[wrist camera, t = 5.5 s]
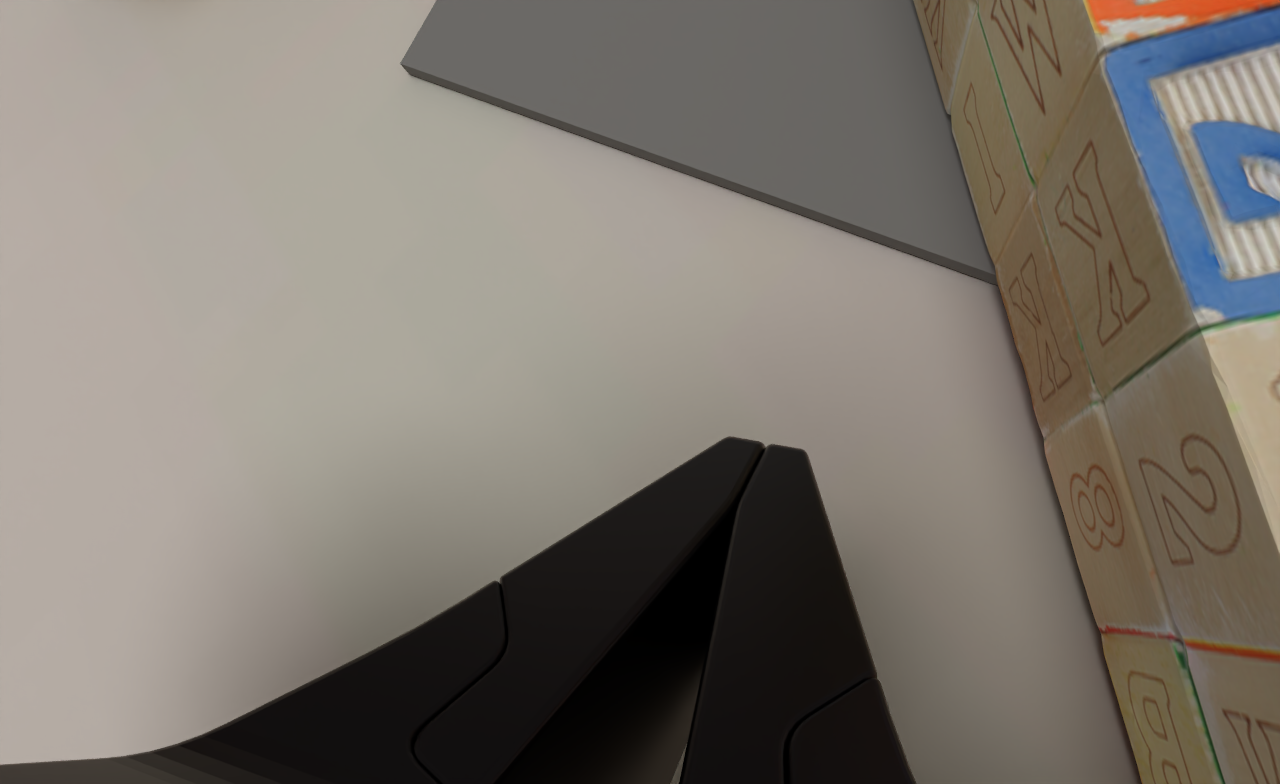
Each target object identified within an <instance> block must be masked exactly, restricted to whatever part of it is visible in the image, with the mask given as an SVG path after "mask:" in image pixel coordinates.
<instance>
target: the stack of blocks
mask: <svg viewBox="0 0 1280 784" xmlns="http://www.w3.org/2000/svg"><path fill="white" fill-rule="evenodd" d="M913 1H914V4H915V8H916V11H917V15H918V18H919V21H920V25H921V28H922V31H923V35H924V38H925V42H926V45H927V48H928V52H929V55H930V59H931V62H932V65H933V69H934V72H935V76H936V79H937V82H938V86H939V89H940V93H941V96H942V99H943V103H944V106H945V110H946V112H947V113H948V114H949V115H951V122H952V133H953V136H954V139H955V142H956V145H957V148H958V151H959V155H960V158H961V162H962V166H963V169H964V173H965V177H966V180H967V183H968V187H969V190H970V193H971V197H972V200H973V203H974V207H975V210H976V213H977V217H978V220H979V223H980V226H981V229H982V232H983V236H984V239H985V242H986V245H987V248H988V251H989V254H990V256H991V259H992V261H993V263H994V265H995V271H996V278H997V283H998V286H999V289H1000V292H1001V295H1002V299H1003V302H1004V306H1005V309H1006V311H1007V315H1008V319H1009V322H1010V326H1011V330H1012V334H1013V337H1014V341H1015V345H1016V348H1017V350H1018V353H1019V356H1020V358H1021V361H1022V364H1023V367H1024V370H1025V374H1026V378H1027V382H1028V385H1029V389H1030V393H1031V398H1032V403H1033V408H1034V412H1035V415H1036V418H1037V421H1038V424H1039V427H1040V429H1041V432H1042V435H1043V438H1044V448H1045V455H1046V458H1047V462H1048V465H1049V469H1050V472H1051V475H1052V479H1053V482H1054V486H1055V489H1056V492H1057V495H1058V498H1059V501H1060V505H1061V508H1062V511H1063V514H1064V518H1065V521H1066V525H1067V528H1068V532H1069V535H1070V539H1071V542H1072V546H1073V549H1074V553H1075V556H1076V560H1077V563H1078V567H1079V570H1080V573H1081V576H1082V579H1083V582H1084V586H1085V589H1086V592H1087V595H1088V599H1089V602H1090V605H1091V608H1092V611H1093V615H1094V618H1095V621H1096V623H1097V625H1098V628H1099V630H1100V632H1101V636H1102V644H1103V651H1104V656H1105V659H1106V662H1107V666H1108V669H1109V672H1110V676H1111V679H1112V682H1113V686H1114V689H1115V692H1116V696H1117V699H1118V702H1119V706H1120V709H1121V712H1122V716H1123V719H1124V722H1125V726H1126V729H1127V732H1128V736H1129V739H1130V742H1131V746H1132V749H1133V752H1134V756H1135V759H1136V763H1137V766H1138V770H1139V774H1140V777H1141V781H1142V784H1280V0H913Z"/></svg>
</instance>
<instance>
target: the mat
mask: <svg viewBox="0 0 1280 784" xmlns="http://www.w3.org/2000/svg"><path fill="white" fill-rule="evenodd" d="M400 64H401V65H402V66H403V68H404V69H405V70H406V71H407V72H408V73H409V74H410V75H413V76H416V77H418V78H421V79H424V80H427V81H430V82H432V83H435V84H438V85H441V86H444V87H446V88H449V89H452V90H455V91H457V92H460V93H463V94H466V95H469V96H471V97H474V98H477V99H480V100H483V101H485V102H488V103H491V104H494V105H496V106H499V107H502V108H505V109H508V110H510V111H513V112H516V113H519V114H521V115H524V116H527V117H530V118H533V119H535V120H538V121H541V122H544V123H547V124H549V125H552V126H555V127H558V128H560V129H563V130H566V131H569V132H572V133H574V134H577V135H580V136H583V137H586V138H588V139H591V140H594V141H597V142H599V143H602V144H605V145H608V146H611V147H613V148H616V149H619V150H622V151H625V152H627V153H630V154H633V155H636V156H638V157H641V158H644V159H647V160H650V161H652V162H655V163H658V164H661V165H664V166H666V167H669V168H672V169H675V170H677V171H680V172H683V173H686V174H689V175H691V176H694V177H697V178H700V179H703V180H705V181H708V182H711V183H714V184H716V185H719V186H722V187H725V188H728V189H730V190H733V191H736V192H739V193H742V194H744V195H747V196H750V197H753V198H755V199H758V200H761V201H764V202H767V203H769V204H772V205H775V206H778V207H780V208H783V209H786V210H789V211H792V212H794V213H797V214H800V215H803V216H806V217H808V218H811V219H814V220H817V221H819V222H822V223H825V224H828V225H831V226H833V227H836V228H839V229H842V230H845V231H847V232H850V233H853V234H856V235H858V236H861V237H864V238H867V239H870V240H872V241H875V242H878V243H881V244H884V245H886V246H889V247H892V248H895V249H897V250H900V251H903V252H906V253H909V254H911V255H914V256H917V257H920V258H923V259H925V260H928V261H931V262H934V263H936V264H939V265H942V266H945V267H948V268H950V269H953V270H956V271H959V272H962V273H964V274H967V275H970V276H973V277H975V278H978V279H981V280H984V281H987V282H989V283H992V284H995V285H998V283H997V278H996V271H995V265H994V263H993V261H992V259H991V256H990V254H989V251H988V248H987V245H986V242H985V239H984V236H983V232H982V229H981V226H980V223H979V220H978V217H977V213H976V210H975V207H974V203H973V200H972V197H971V193H970V190H969V187H968V183H967V180H966V177H965V173H964V169H963V166H962V162H961V158H960V155H959V151H958V148H957V145H956V142H955V139H954V136H953V133H952V122H951V115H949V114H948V113H947V112H946V110H945V106H944V103H943V99H942V96H941V93H940V89H939V86H938V82H937V79H936V76H935V72H934V69H933V65H932V62H931V59H930V55H929V52H928V48H927V45H926V42H925V38H924V35H923V31H922V28H921V25H920V21H919V18H918V15H917V11H916V8H915V4H914V1H913V0H437V1H436V2H435V4H434V6H433V8H432V9H431V11H430V13H429V15H428V16H427V18H426V20H425V21H424V23H423V25H422V27H421V28H420V30H419V32H418V34H417V35H416V37H415V39H414V41H413V42H412V44H411V46H410V47H409V49H408V51H407V53H406V54H405V56H404V58H403V60H402V61H401V63H400Z"/></svg>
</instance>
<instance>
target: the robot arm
mask: <svg viewBox="0 0 1280 784" xmlns="http://www.w3.org/2000/svg"><path fill="white" fill-rule="evenodd" d="M687 741H688V742H687ZM686 744H687V747H686V752H685V757H684V762H683V767H682V772H681V777H680V782H679V784H916V781H915V779H914V777H913V775H912V772H911V770H910V767H909V765H908V762H907V759H906V756H905V753H904V751H903V748H902V745H901V742H900V740H899V737H898V734H897V731H896V729H895V726H894V723H893V720H892V717H891V714H890V711H889V708H888V705H887V702H886V699H885V696H884V692H883V689H882V686H881V683H880V681H879V680H878V679H877V672H876V669H875V666H874V662H873V659H872V656H871V653H870V650H869V647H868V643H867V640H866V637H865V634H864V631H863V628H862V624H861V621H860V618H859V615H858V612H857V609H856V605H855V602H854V599H853V596H852V593H851V590H850V587H849V583H848V580H847V577H846V574H845V571H844V568H843V564H842V561H841V558H840V555H839V552H838V549H837V545H836V542H835V539H834V536H833V533H832V530H831V526H830V523H829V520H828V517H827V514H826V511H825V508H824V504H823V501H822V498H821V495H820V492H819V489H818V485H817V482H816V479H815V476H814V473H813V470H812V466H811V463H810V460H809V457H808V455H807V453H806V451H804V450H802V449H798V448H792V447H787V446H781V445H775V444H771V445H768V446H767V447H766V448H765V446H764V444H763V443H762V442H759V441H753V440H748V439H742V438H737V437H726V438H724V439H722V440H721V441H719V442H717V443H716V444H714V445H713V446H711V447H709V448H708V449H706V450H704V451H703V452H701V453H700V454H698V455H696V456H695V457H693V458H692V459H690V460H688V461H687V462H685V463H683V464H682V465H680V466H679V467H677V468H675V469H674V470H672V471H671V472H669V473H667V474H666V475H664V476H663V477H661V478H659V479H658V480H656V481H654V482H653V483H651V484H650V485H648V486H646V487H645V488H643V489H642V490H640V491H638V492H637V493H635V494H634V495H632V496H630V497H629V498H627V499H625V500H624V501H622V502H621V503H619V504H617V505H616V506H614V507H613V508H611V509H609V510H608V511H606V512H604V513H603V514H601V515H600V516H598V517H596V518H595V519H593V520H592V521H590V522H588V523H587V524H585V525H584V526H582V527H580V528H579V529H577V530H575V531H574V532H572V533H571V534H569V535H567V536H566V537H564V538H563V539H561V540H559V541H558V542H556V543H555V544H553V545H551V546H550V547H548V548H546V549H545V550H543V551H542V552H540V553H538V554H537V555H535V556H534V557H532V558H530V559H529V560H527V561H525V562H524V563H522V564H521V565H519V566H517V567H516V568H514V569H513V570H511V571H509V572H508V573H506V574H505V575H503V576H502V577H501V578H500V583H499V582H498V581H493V582H491V583H489V584H488V585H486V586H485V587H483V588H481V589H480V590H478V591H477V592H475V593H473V594H472V595H470V596H469V597H467V598H465V599H464V600H462V601H460V602H459V603H457V604H455V605H453V606H452V607H450V608H448V609H447V610H445V611H443V612H441V613H440V614H438V615H436V616H435V617H433V618H431V619H429V620H428V621H426V622H424V623H423V624H421V625H419V626H418V627H416V628H414V629H412V630H410V631H408V632H406V633H404V634H402V635H400V636H399V637H397V638H395V639H393V640H391V641H389V642H387V643H385V644H383V645H381V646H380V647H378V648H376V649H374V650H372V651H370V652H368V653H366V654H364V655H362V656H360V657H358V658H356V659H354V660H352V661H350V662H348V663H346V664H344V665H342V666H340V667H338V668H336V669H334V670H332V671H330V672H328V673H326V674H324V675H322V676H320V677H318V678H316V679H314V680H312V681H310V682H308V683H306V684H304V685H302V686H300V687H298V688H296V689H294V690H292V691H290V692H288V693H286V694H284V695H282V696H280V697H278V698H276V699H274V700H272V701H270V702H268V703H266V704H264V705H262V706H260V707H258V708H256V709H254V710H252V711H250V712H248V713H246V714H244V715H242V716H240V717H238V718H236V719H234V720H232V721H230V722H228V723H226V724H224V725H222V726H220V727H218V728H215V729H213V730H211V731H209V732H207V733H204V734H202V735H200V736H197V737H194V738H192V739H189V740H186V741H183V742H181V743H178V744H175V745H172V746H168V747H165V748H161V749H157V750H154V751H150V752H144V753H139V754H133V755H127V756H121V757H111V758H100V759H84V760H68V761H52V762H36V763H20V764H4V765H0V784H670V782H671V780H672V778H673V775H674V773H675V770H676V768H677V765H678V763H679V761H680V758H681V756H682V753H683V751H684V749H685V746H686Z"/></svg>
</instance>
